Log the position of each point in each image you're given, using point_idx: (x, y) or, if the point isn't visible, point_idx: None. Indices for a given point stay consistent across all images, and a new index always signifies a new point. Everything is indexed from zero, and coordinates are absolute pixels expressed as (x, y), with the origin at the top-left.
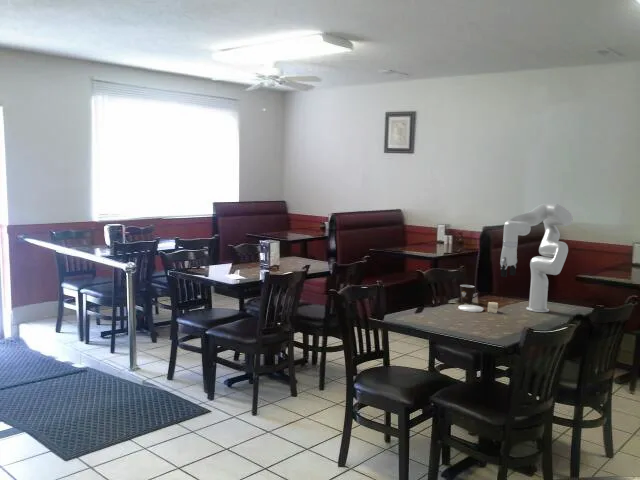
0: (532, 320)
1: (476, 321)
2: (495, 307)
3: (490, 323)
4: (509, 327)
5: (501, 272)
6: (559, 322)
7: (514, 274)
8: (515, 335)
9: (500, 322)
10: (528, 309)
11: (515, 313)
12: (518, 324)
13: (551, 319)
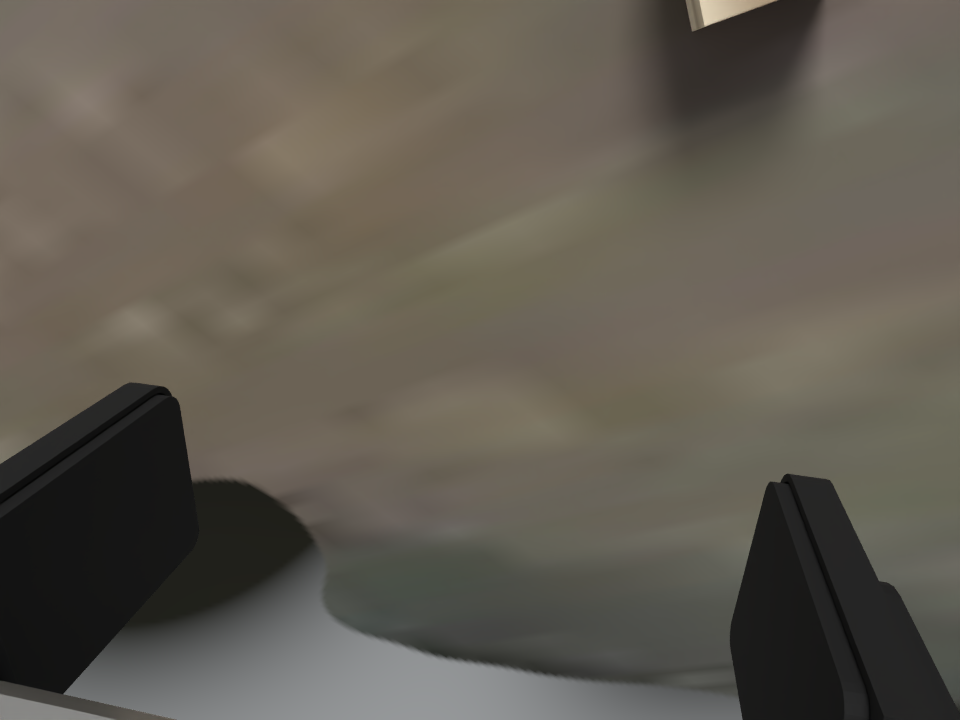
0: (602, 482)
1: (75, 104)
2: (694, 7)
3: (135, 245)
4: None
5: (44, 460)
6: (714, 664)
7: (733, 657)
8: None
9: (254, 295)
10: None
11: (860, 230)
12: (328, 438)
13: None
